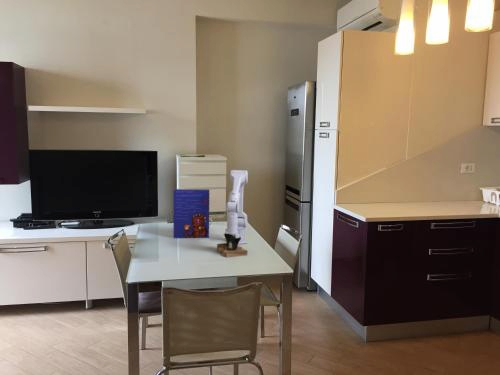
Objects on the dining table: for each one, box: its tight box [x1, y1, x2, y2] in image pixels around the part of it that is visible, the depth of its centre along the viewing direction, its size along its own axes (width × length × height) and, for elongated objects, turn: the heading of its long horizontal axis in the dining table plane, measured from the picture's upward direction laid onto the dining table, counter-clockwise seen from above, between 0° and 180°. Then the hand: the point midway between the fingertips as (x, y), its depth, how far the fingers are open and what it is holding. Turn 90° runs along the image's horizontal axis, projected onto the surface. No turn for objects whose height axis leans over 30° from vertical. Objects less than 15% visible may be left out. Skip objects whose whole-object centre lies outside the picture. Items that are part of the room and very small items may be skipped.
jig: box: [216, 242, 248, 258], centre depth 241 cm, size 14×12×4 cm
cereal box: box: [173, 188, 210, 239], centre depth 273 cm, size 22×6×30 cm, turn 96°
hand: (231, 247), depth 241 cm, fingers open, 7 cm apart
